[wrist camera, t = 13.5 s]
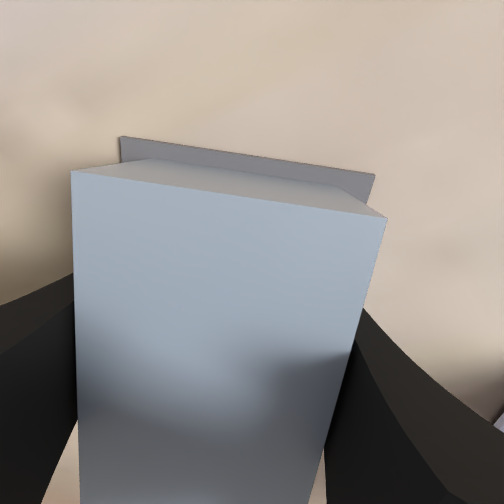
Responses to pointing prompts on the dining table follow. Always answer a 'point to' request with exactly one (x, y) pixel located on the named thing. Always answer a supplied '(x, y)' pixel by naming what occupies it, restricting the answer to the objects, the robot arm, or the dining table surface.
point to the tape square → (248, 164)
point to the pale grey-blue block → (211, 329)
